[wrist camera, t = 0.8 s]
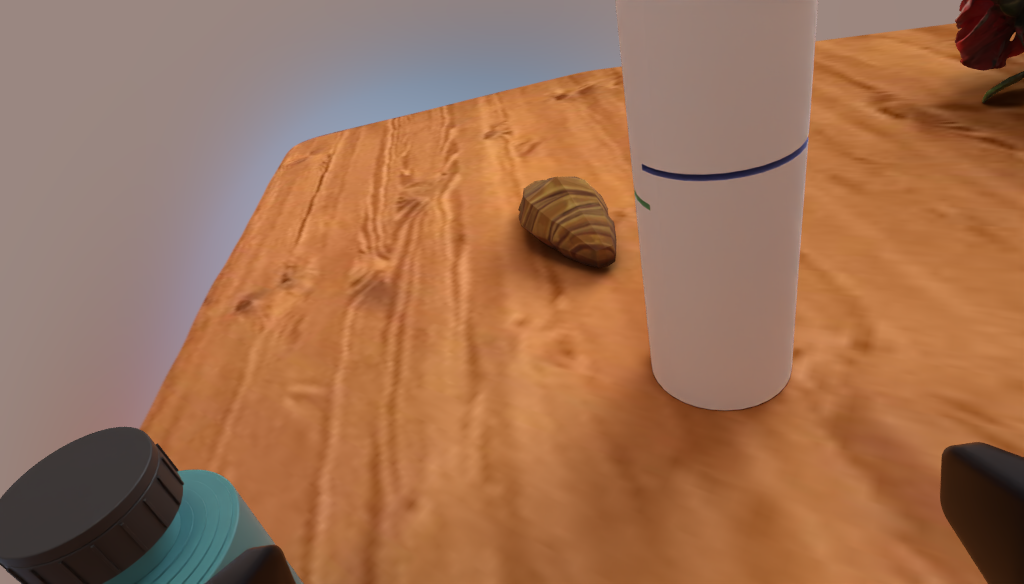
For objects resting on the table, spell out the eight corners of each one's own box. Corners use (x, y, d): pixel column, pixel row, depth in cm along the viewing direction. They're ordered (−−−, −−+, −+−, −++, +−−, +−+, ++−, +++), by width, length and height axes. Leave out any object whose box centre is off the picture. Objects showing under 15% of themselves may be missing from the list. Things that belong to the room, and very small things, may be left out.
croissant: (497, 218, 52) (484, 164, 49) (568, 192, 53) (559, 138, 51) (564, 291, 41) (551, 227, 38) (651, 256, 43) (645, 192, 40)
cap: (116, 605, 15) (73, 564, 14) (-12, 593, 16) (-61, 555, 15) (214, 465, 18) (185, 425, 18) (102, 463, 20) (68, 425, 19)
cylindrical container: (730, 433, 29) (727, -255, 15) (624, 365, 34) (550, -191, 20) (821, 358, 32) (889, -283, 18) (710, 305, 37) (696, -221, 23)
